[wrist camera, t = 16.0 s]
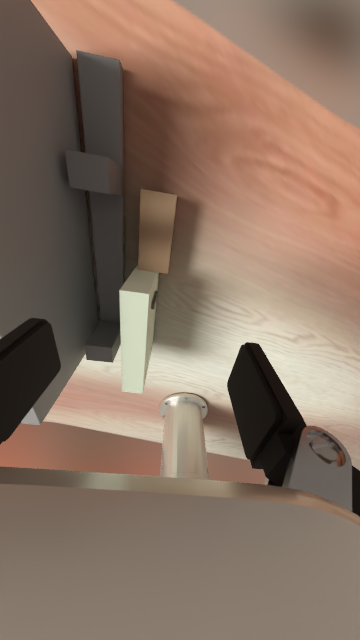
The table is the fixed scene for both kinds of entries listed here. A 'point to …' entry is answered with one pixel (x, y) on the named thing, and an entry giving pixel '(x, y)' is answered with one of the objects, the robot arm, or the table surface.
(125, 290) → the door
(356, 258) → the table surface
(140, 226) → the walnut block
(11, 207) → the grey upright panel
